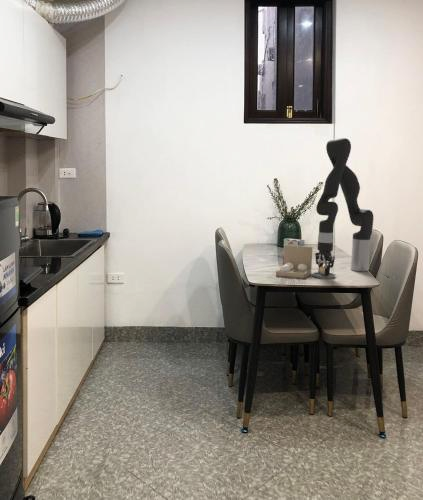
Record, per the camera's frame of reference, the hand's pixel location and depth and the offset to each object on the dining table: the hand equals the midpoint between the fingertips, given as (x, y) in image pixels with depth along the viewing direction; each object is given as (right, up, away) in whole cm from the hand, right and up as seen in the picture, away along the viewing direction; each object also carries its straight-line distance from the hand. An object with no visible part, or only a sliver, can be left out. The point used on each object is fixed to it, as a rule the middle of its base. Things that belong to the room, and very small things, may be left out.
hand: (323, 274), depth 244 cm
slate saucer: (0, -1, 0) cm, 1 cm away
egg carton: (-15, -1, +4) cm, 15 cm away
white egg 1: (-19, +2, +2) cm, 19 cm away
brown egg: (0, +2, 0) cm, 2 cm away
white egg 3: (-10, +3, +6) cm, 12 cm away
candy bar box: (-12, +2, +21) cm, 24 cm away
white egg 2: (-16, +3, +8) cm, 19 cm away
